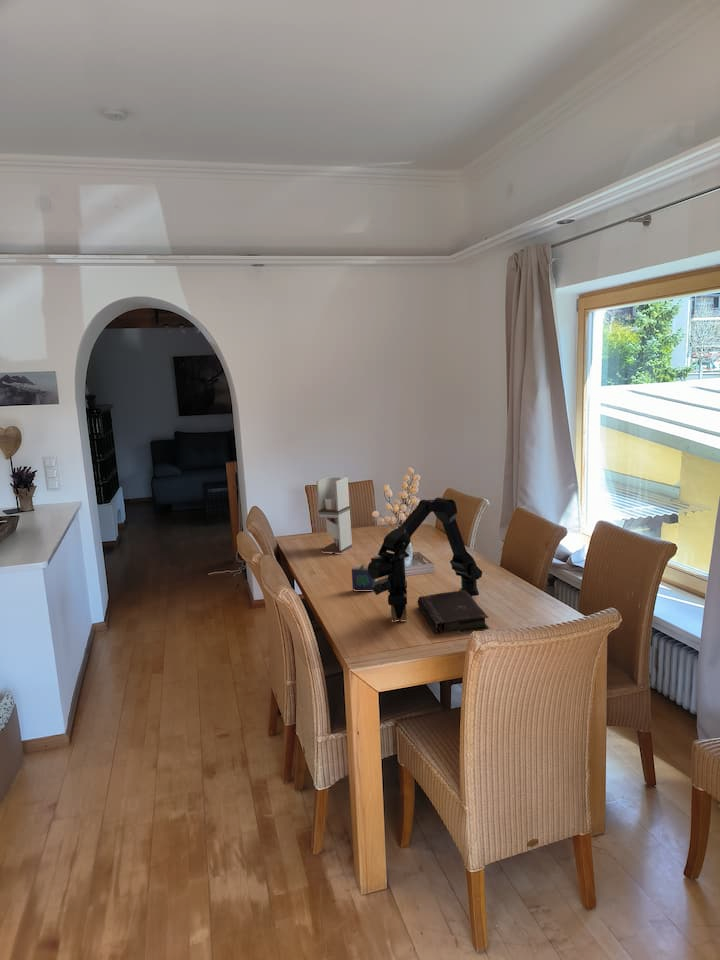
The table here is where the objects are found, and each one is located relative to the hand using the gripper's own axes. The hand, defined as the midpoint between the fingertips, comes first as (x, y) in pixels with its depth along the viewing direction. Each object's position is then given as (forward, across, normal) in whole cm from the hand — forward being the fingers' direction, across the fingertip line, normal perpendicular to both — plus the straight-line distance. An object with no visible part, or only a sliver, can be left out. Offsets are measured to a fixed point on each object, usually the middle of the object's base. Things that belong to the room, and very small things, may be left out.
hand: (399, 615), depth 217 cm
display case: (+1, -88, -31) cm, 93 cm away
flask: (+2, -30, -14) cm, 33 cm away
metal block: (+1, 0, 0) cm, 1 cm away
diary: (+2, 0, +18) cm, 18 cm away
